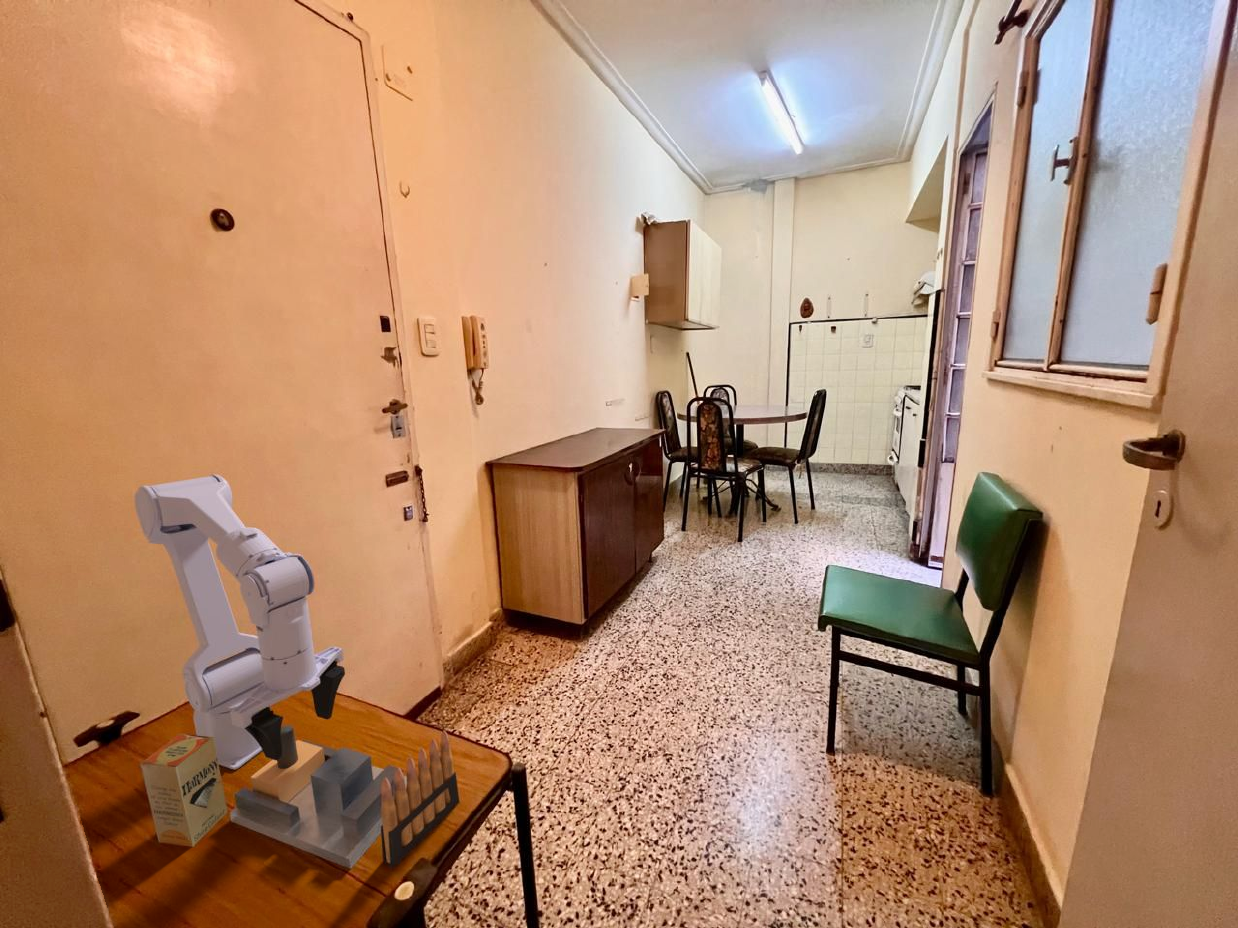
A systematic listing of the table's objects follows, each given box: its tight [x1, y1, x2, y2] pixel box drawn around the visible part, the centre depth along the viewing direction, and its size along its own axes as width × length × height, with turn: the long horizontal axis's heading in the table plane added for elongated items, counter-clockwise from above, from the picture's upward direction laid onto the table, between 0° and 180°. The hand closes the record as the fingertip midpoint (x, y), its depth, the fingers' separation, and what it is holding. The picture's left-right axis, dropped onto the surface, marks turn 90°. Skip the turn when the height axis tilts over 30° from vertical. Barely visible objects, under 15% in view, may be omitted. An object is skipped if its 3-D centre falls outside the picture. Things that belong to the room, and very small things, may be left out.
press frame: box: [229, 739, 407, 870], centre depth 67 cm, size 20×12×5 cm, turn 72°
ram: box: [250, 724, 325, 803], centre depth 68 cm, size 5×7×8 cm
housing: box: [310, 746, 373, 822], centre depth 66 cm, size 6×5×6 cm
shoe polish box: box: [139, 733, 229, 848], centre depth 63 cm, size 5×5×12 cm
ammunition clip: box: [380, 729, 460, 869], centre depth 63 cm, size 11×2×12 cm, turn 150°
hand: (300, 735), depth 67 cm, fingers open, 7 cm apart
